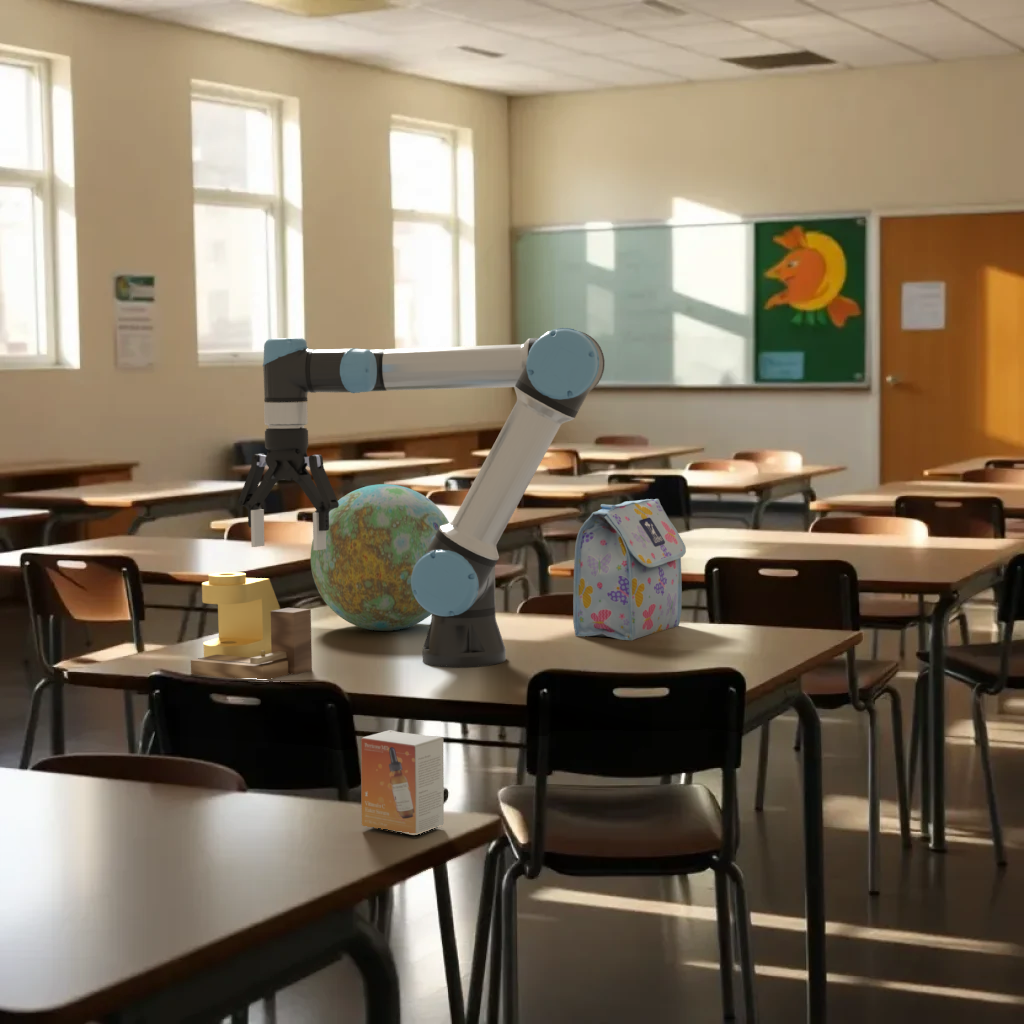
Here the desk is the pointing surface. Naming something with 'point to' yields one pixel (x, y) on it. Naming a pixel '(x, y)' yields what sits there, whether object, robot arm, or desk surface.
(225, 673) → the board
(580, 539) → the lunch bag
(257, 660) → the taupe upright block
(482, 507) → the robot arm
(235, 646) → the clamp
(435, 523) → the decorative globe
